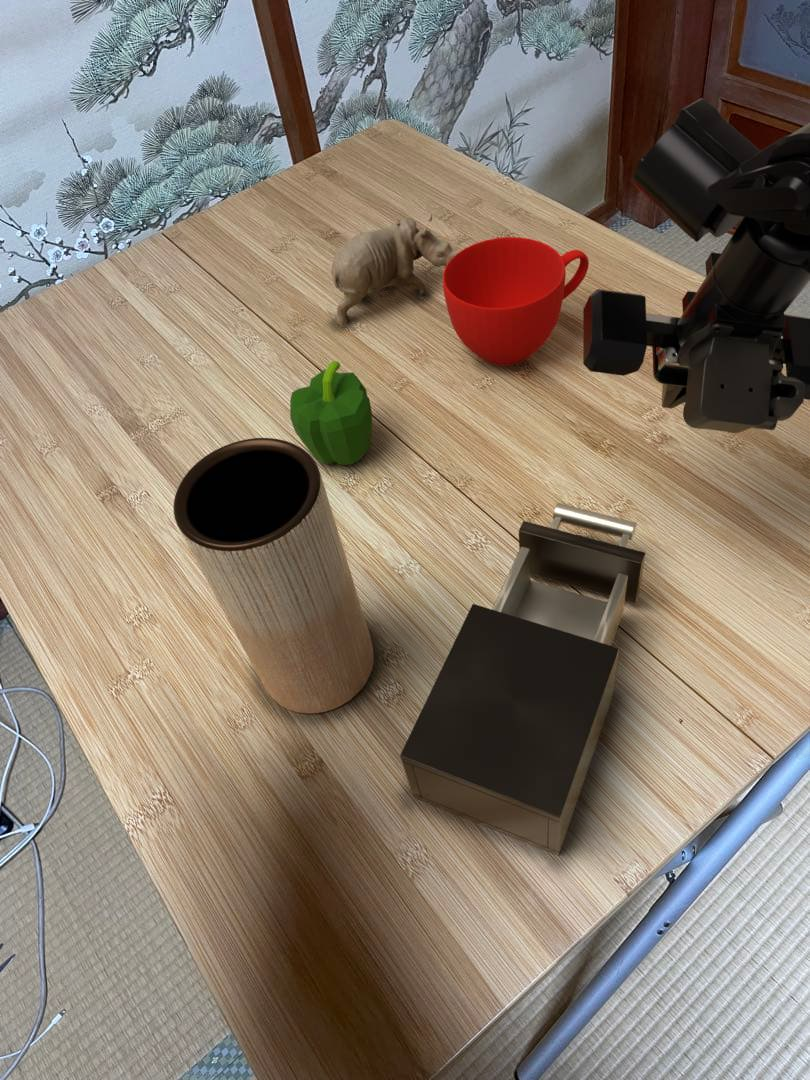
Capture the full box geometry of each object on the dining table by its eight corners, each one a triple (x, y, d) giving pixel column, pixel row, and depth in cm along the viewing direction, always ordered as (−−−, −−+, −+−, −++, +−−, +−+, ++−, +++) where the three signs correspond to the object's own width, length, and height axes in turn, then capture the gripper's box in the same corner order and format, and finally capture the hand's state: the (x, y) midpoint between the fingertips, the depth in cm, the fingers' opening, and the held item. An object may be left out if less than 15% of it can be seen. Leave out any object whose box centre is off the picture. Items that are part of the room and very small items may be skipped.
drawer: (540, 526, 78) (540, 484, 73) (652, 555, 74) (659, 513, 70) (472, 675, 69) (467, 638, 64) (596, 717, 65) (600, 681, 61)
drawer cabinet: (478, 653, 71) (472, 603, 65) (612, 696, 67) (619, 647, 61) (412, 797, 64) (399, 755, 58) (558, 855, 60) (560, 817, 54)
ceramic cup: (616, 343, 94) (623, 265, 86) (484, 400, 91) (478, 325, 83) (554, 287, 101) (555, 211, 94) (431, 338, 98) (421, 263, 91)
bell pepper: (341, 490, 85) (320, 418, 77) (289, 455, 89) (265, 384, 81) (398, 443, 88) (384, 369, 80) (345, 411, 92) (327, 338, 85)
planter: (354, 725, 68) (288, 559, 51) (244, 703, 71) (145, 537, 54) (388, 624, 74) (340, 443, 57) (285, 607, 77) (208, 428, 59)
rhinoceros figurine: (299, 284, 104) (351, 177, 95) (391, 309, 112) (447, 211, 103) (315, 324, 100) (371, 215, 91) (409, 346, 108) (469, 248, 98)
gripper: (621, 361, 52) (556, 474, 67) (906, 399, 53) (781, 502, 68) (618, 225, 57) (558, 359, 71) (882, 262, 58) (770, 386, 72)
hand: (666, 403), depth 70 cm, fingers closed
